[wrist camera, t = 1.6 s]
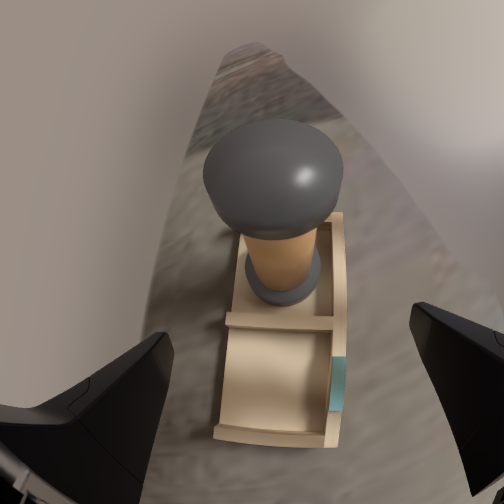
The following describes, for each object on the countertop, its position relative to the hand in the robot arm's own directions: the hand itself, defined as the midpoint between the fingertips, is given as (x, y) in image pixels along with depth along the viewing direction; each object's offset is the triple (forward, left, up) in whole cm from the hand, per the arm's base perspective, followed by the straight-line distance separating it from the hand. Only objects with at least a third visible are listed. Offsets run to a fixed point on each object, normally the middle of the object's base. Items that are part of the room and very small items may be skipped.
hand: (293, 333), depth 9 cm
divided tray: (+2, +1, -13) cm, 13 cm away
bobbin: (+7, +1, -12) cm, 14 cm away
